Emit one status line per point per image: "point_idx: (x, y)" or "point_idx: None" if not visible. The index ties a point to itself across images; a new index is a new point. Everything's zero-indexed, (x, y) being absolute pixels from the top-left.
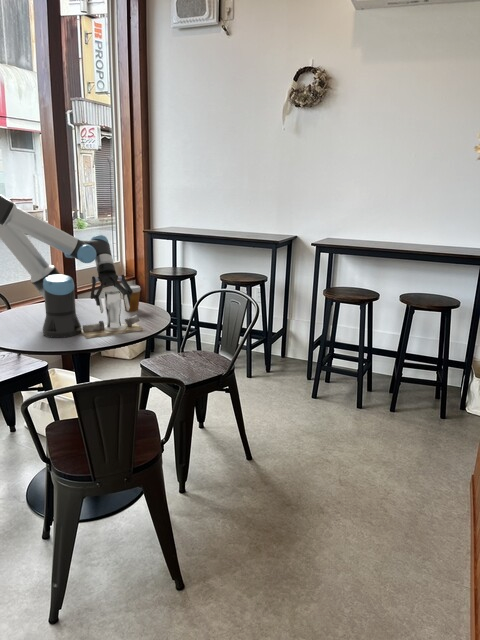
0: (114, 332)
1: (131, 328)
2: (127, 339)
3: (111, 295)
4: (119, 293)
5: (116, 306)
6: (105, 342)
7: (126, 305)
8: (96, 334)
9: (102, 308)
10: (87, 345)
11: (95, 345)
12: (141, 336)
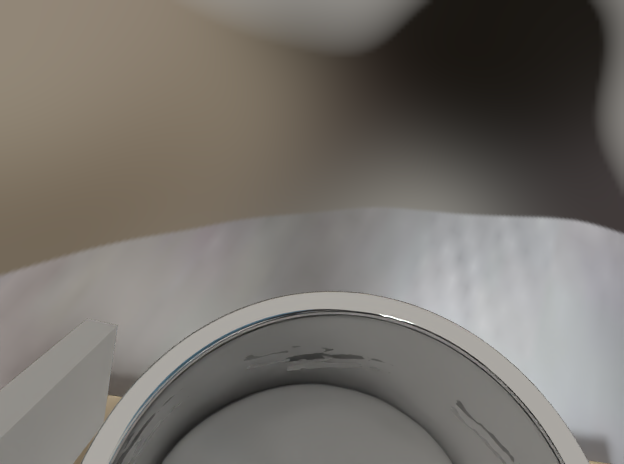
0: None
1: None
2: (297, 235)
3: (451, 337)
4: (196, 335)
5: (306, 383)
6: (475, 267)
7: (67, 436)
8: None
9: None
10: (615, 280)
11: (559, 248)
12: (161, 236)
